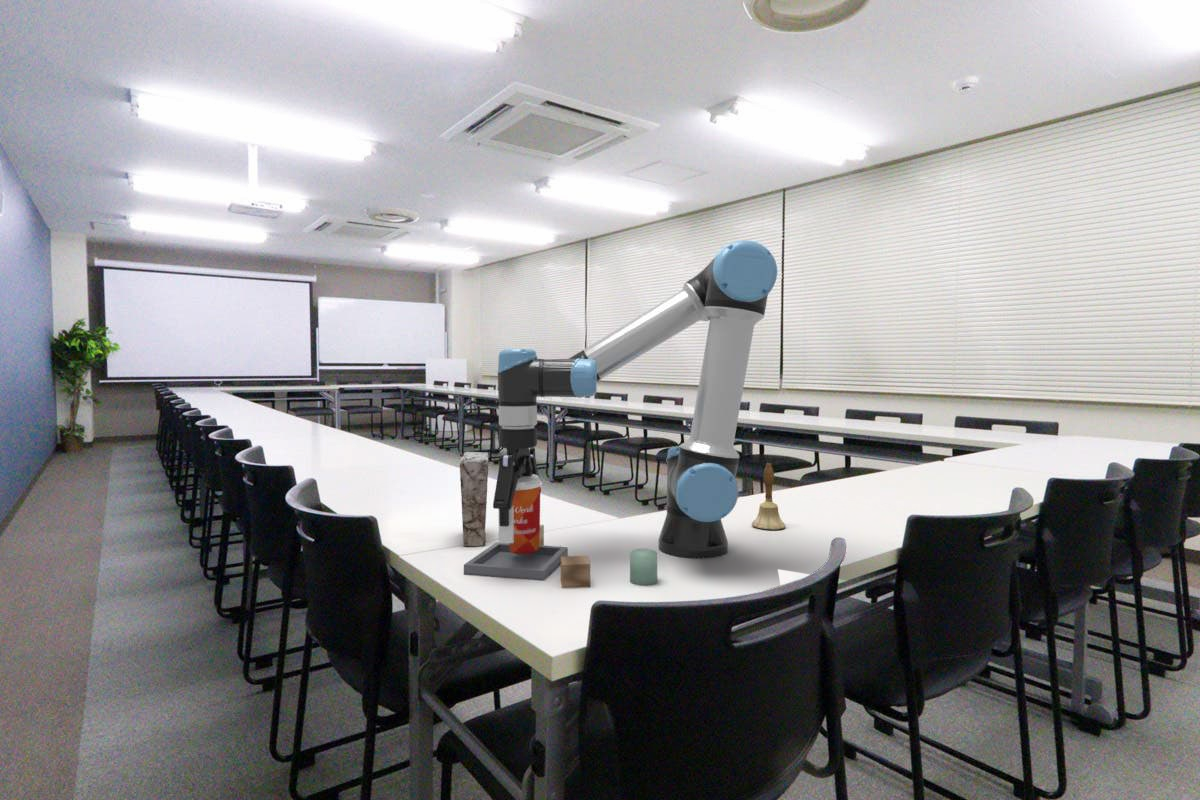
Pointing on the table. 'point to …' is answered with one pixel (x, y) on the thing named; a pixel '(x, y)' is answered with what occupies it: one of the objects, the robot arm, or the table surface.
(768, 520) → the hand bell
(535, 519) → the coffee cup
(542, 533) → the oak block
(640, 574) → the green tin
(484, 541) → the stone block
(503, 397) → the robot arm
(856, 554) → the table surface
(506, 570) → the charcoal tray
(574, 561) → the walnut cube
